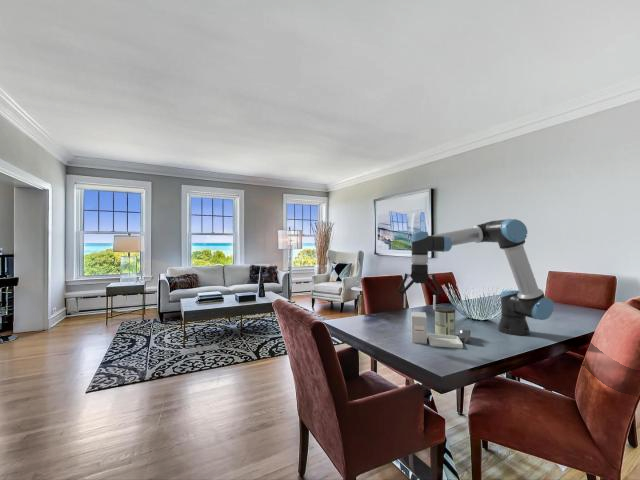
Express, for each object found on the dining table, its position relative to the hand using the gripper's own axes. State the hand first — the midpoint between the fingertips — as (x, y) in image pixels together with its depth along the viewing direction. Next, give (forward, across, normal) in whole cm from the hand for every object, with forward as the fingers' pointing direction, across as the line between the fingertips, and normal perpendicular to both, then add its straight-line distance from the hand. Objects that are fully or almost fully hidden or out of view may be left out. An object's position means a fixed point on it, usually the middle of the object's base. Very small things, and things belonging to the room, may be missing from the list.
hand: (419, 308), depth 150 cm
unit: (+18, 0, -11) cm, 21 cm away
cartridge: (+18, -22, -13) cm, 32 cm away
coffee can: (+18, -14, -24) cm, 33 cm away
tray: (+18, -12, -10) cm, 24 cm away
